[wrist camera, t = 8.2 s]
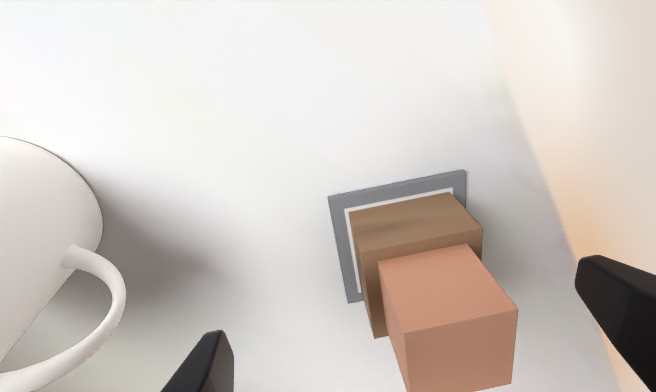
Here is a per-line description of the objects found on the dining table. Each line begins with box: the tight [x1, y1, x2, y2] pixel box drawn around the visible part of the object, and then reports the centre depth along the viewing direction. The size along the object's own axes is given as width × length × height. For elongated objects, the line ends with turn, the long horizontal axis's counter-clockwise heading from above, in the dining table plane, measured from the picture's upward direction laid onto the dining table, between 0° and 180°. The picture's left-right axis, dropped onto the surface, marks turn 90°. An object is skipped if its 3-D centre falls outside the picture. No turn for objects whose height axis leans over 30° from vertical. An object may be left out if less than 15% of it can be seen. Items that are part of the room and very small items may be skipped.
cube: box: [378, 243, 518, 392], centre depth 17 cm, size 4×4×4 cm
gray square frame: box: [328, 170, 466, 304], centre depth 23 cm, size 8×8×1 cm
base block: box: [348, 192, 482, 339], centre depth 21 cm, size 6×6×4 cm
